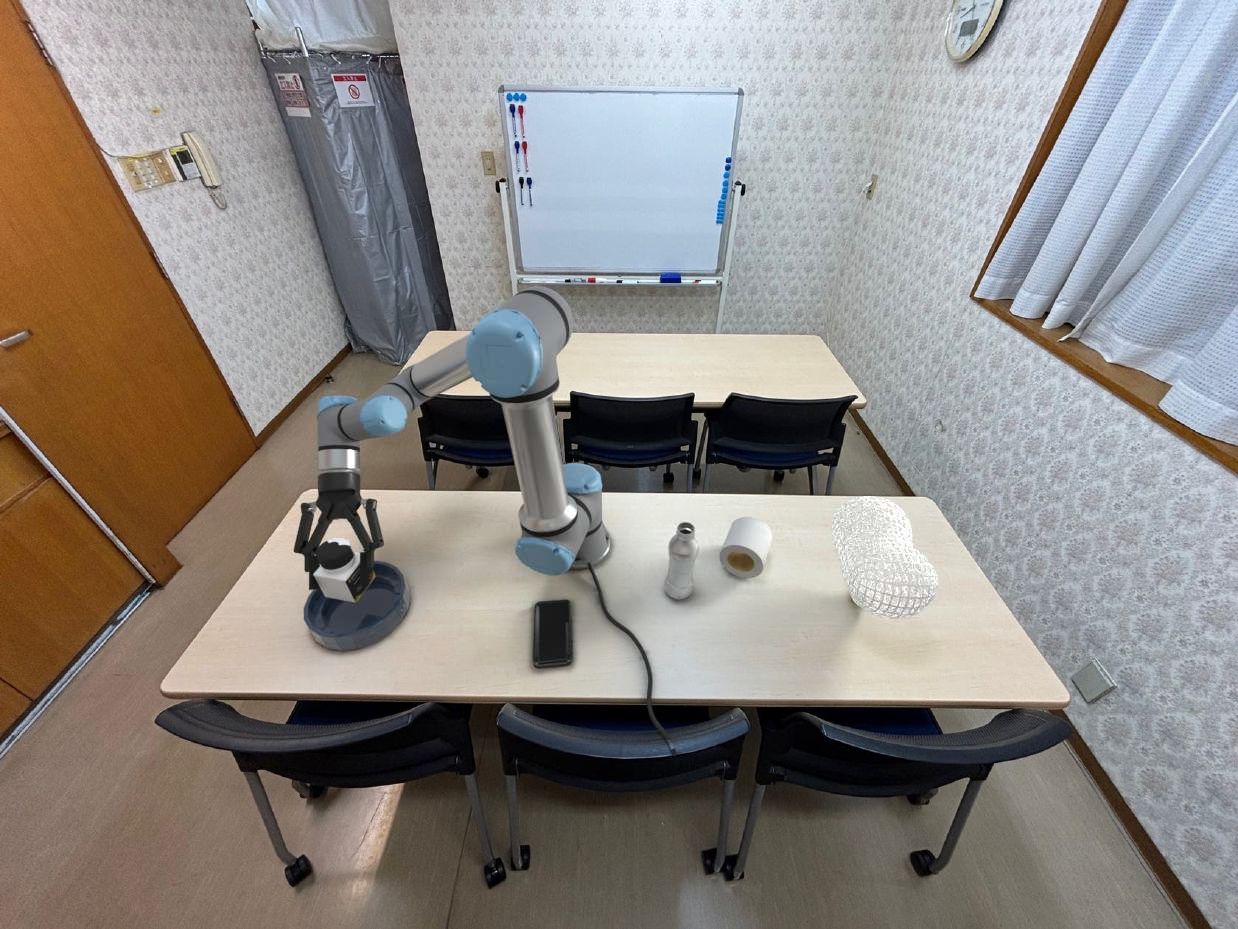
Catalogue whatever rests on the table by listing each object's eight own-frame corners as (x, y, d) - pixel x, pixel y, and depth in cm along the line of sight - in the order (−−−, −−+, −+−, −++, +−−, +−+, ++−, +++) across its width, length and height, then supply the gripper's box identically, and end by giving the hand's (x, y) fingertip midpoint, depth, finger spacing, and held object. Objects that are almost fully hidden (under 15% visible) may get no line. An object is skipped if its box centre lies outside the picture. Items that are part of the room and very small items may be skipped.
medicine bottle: (356, 603, 101) (336, 563, 94) (324, 597, 102) (302, 557, 95) (376, 576, 107) (359, 536, 99) (346, 570, 108) (327, 530, 101)
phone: (532, 665, 98) (534, 601, 110) (533, 668, 99) (535, 604, 111) (573, 661, 99) (571, 598, 111) (573, 664, 100) (571, 602, 112)
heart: (917, 660, 101) (964, 589, 88) (837, 653, 102) (872, 582, 89) (874, 555, 123) (907, 485, 110) (809, 550, 125) (834, 481, 111)
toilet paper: (728, 541, 127) (734, 511, 121) (768, 554, 123) (776, 524, 117) (716, 569, 120) (722, 539, 113) (758, 583, 116) (767, 554, 110)
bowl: (426, 611, 109) (421, 597, 106) (333, 670, 98) (324, 656, 95) (386, 561, 120) (380, 547, 117) (298, 609, 109) (289, 595, 106)
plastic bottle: (696, 585, 116) (706, 522, 103) (686, 608, 111) (696, 544, 99) (669, 576, 118) (676, 513, 106) (659, 597, 113) (665, 534, 101)
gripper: (400, 472, 107) (402, 580, 104) (293, 478, 105) (292, 589, 102) (388, 467, 100) (389, 584, 97) (271, 474, 98) (270, 594, 95)
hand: (339, 587), depth 100 cm, fingers closed on medicine bottle, 9 cm apart
